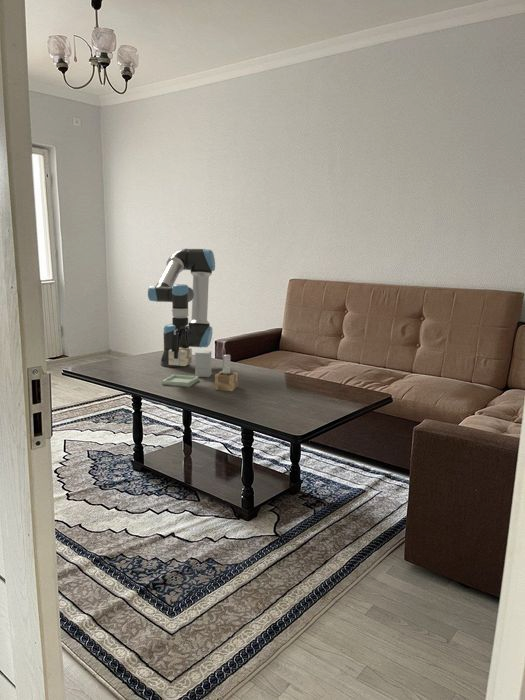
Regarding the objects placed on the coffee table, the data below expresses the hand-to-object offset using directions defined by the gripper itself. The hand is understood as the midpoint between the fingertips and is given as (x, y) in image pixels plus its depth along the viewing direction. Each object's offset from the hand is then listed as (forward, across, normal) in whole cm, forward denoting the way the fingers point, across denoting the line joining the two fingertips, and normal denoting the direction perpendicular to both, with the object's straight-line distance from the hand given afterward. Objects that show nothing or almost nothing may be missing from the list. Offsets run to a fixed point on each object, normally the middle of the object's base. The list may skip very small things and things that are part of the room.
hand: (180, 363), depth 264 cm
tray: (+10, 0, 0) cm, 10 cm away
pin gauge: (+10, +2, +24) cm, 26 cm away
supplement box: (+10, -18, +5) cm, 21 cm away
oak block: (+10, +2, +24) cm, 26 cm away
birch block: (0, 0, 0) cm, 0 cm away
